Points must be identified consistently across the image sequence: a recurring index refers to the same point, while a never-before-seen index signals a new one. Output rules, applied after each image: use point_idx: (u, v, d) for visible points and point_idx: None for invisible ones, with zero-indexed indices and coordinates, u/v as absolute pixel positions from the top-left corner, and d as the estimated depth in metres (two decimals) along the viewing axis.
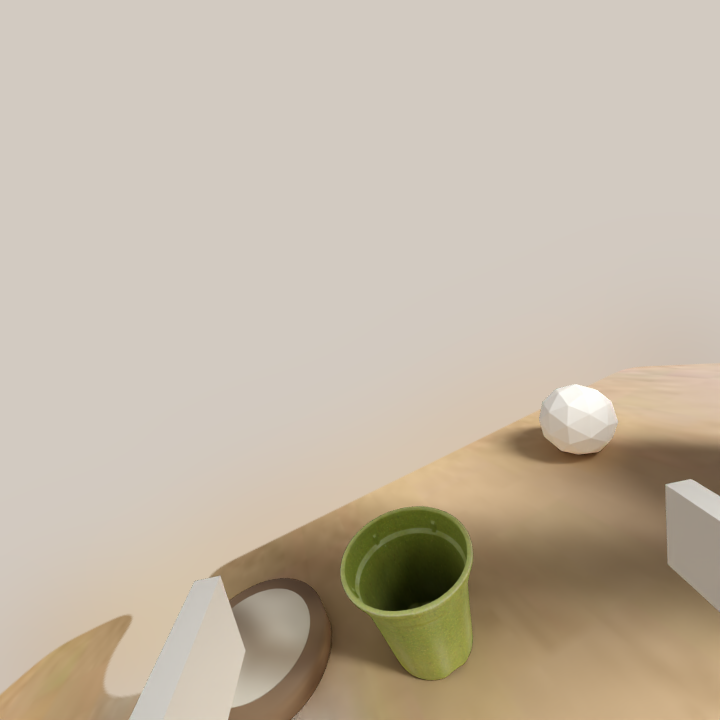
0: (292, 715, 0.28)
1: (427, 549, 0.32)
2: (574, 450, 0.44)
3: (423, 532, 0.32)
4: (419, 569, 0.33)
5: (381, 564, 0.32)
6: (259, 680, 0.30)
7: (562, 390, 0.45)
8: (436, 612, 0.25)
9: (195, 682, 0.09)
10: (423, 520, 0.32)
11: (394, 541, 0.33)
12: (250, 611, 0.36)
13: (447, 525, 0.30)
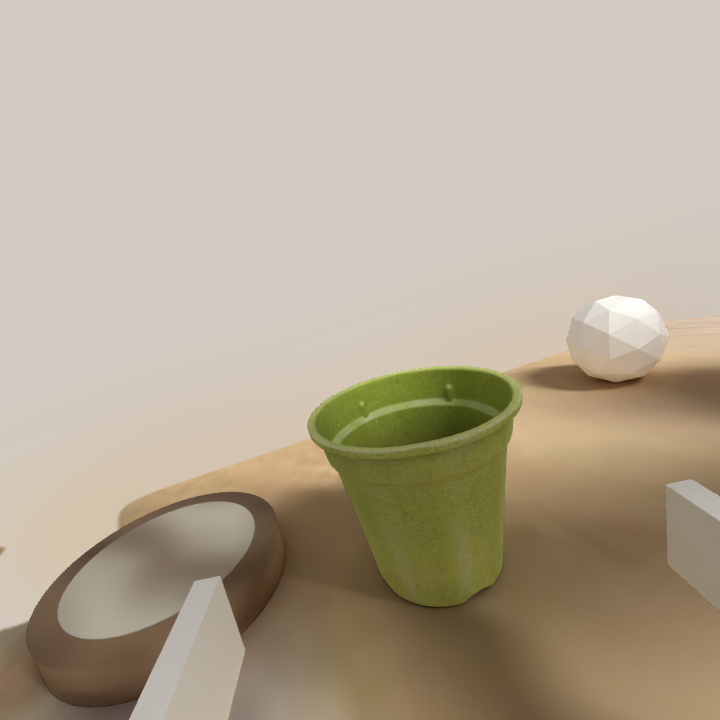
0: None
1: (437, 431, 0.22)
2: (614, 370, 0.35)
3: (432, 405, 0.22)
4: None
5: (369, 446, 0.22)
6: (161, 602, 0.18)
7: (599, 300, 0.36)
8: (466, 459, 0.15)
9: (195, 682, 0.09)
10: (433, 387, 0.22)
11: (389, 417, 0.22)
12: (168, 526, 0.24)
13: (472, 383, 0.21)
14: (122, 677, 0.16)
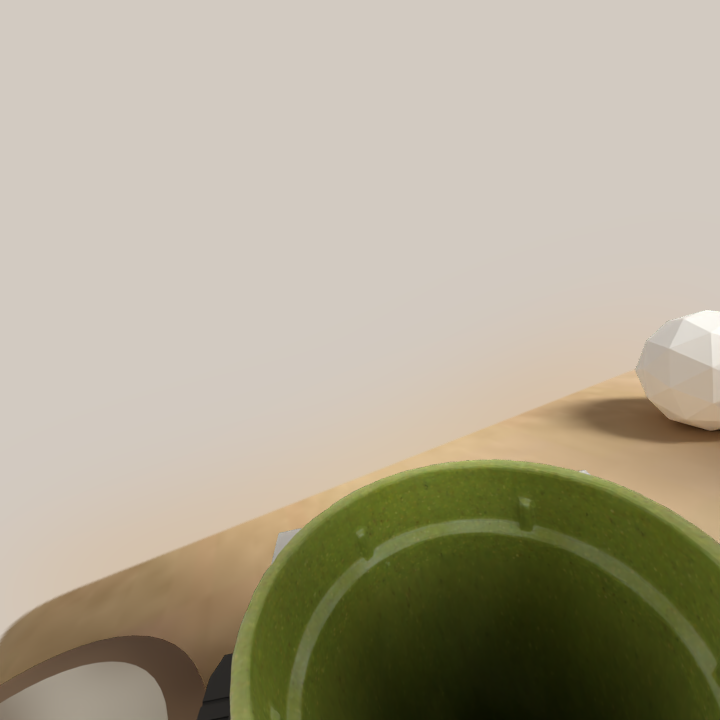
0: None
1: (501, 580, 0.12)
2: (716, 417, 0.24)
3: (492, 532, 0.12)
4: (470, 635, 0.13)
5: (374, 615, 0.11)
6: None
7: (688, 316, 0.26)
8: None
9: None
10: (495, 498, 0.12)
11: (412, 551, 0.12)
12: None
13: (579, 507, 0.10)
14: None
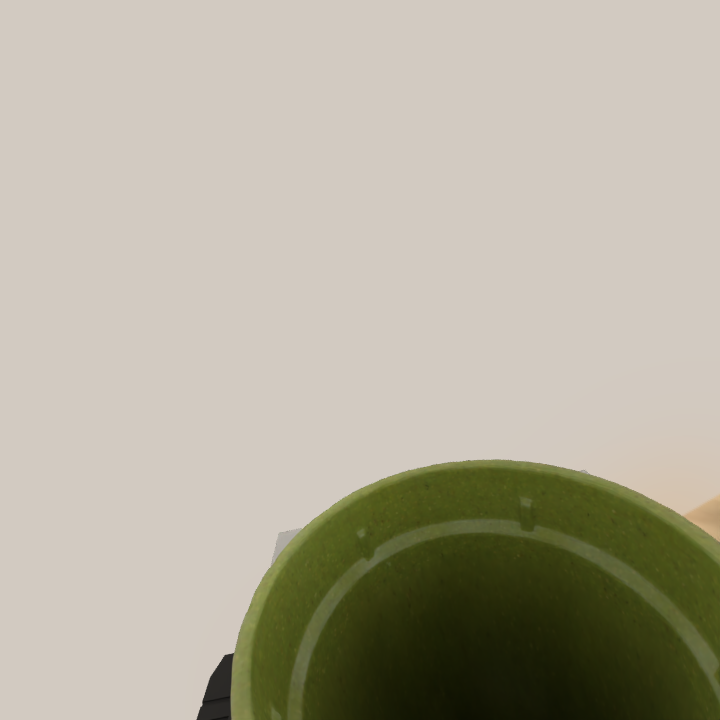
0: None
1: (502, 580, 0.12)
2: None
3: (493, 533, 0.12)
4: (471, 636, 0.12)
5: (375, 615, 0.11)
6: None
7: None
8: None
9: None
10: (496, 498, 0.12)
11: (413, 551, 0.12)
12: None
13: (581, 507, 0.10)
14: None
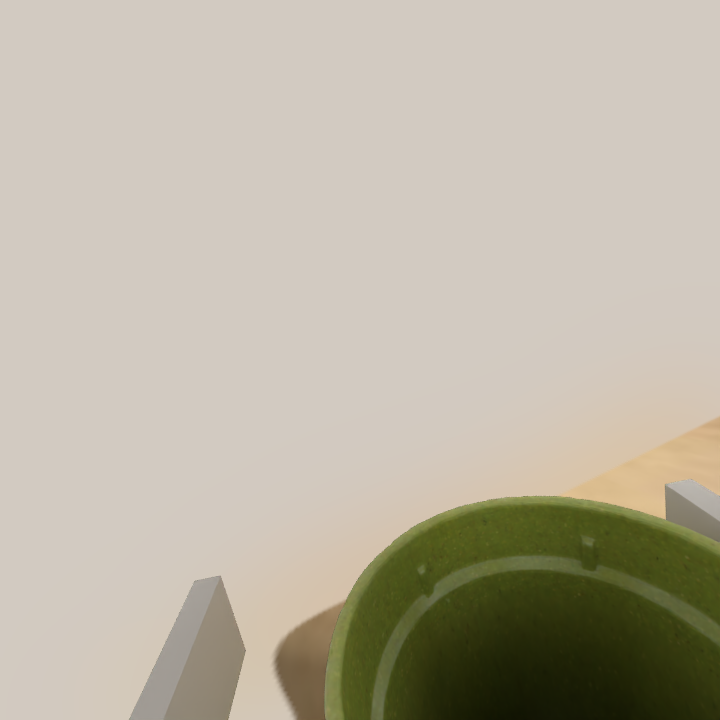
0: None
1: (561, 618, 0.12)
2: None
3: (552, 570, 0.12)
4: (526, 672, 0.12)
5: (435, 653, 0.11)
6: None
7: None
8: None
9: (195, 682, 0.09)
10: (555, 536, 0.12)
11: (470, 588, 0.12)
12: None
13: (649, 550, 0.10)
14: None
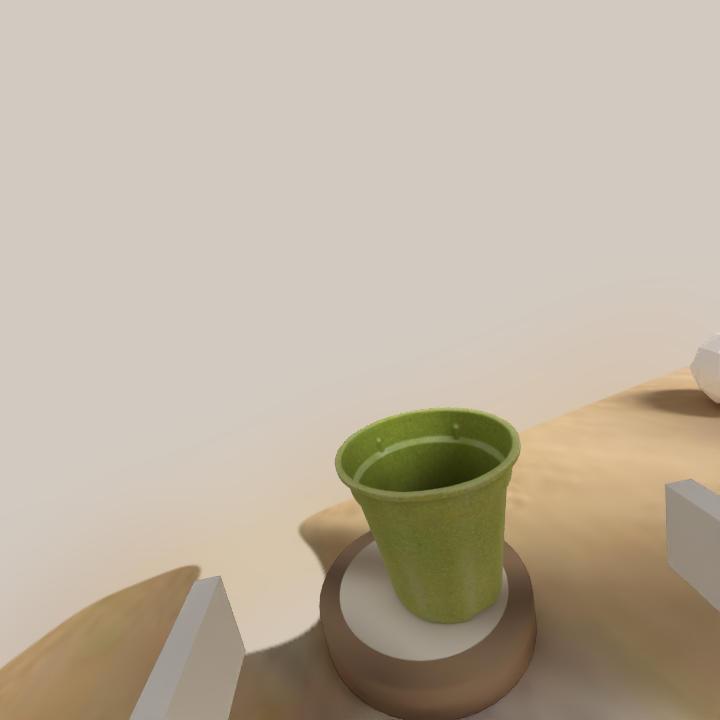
0: (518, 678, 0.19)
1: (445, 465, 0.25)
2: None
3: (441, 442, 0.25)
4: None
5: (384, 478, 0.24)
6: (458, 625, 0.20)
7: None
8: (472, 502, 0.17)
9: (195, 682, 0.09)
10: (442, 425, 0.25)
11: (403, 451, 0.25)
12: None
13: (477, 425, 0.23)
14: (464, 696, 0.18)
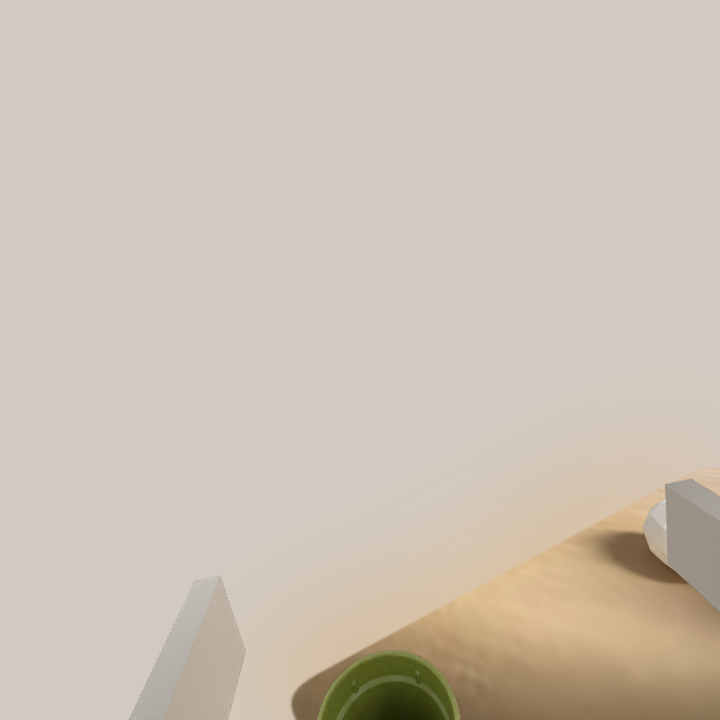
0: None
1: (410, 700, 0.30)
2: None
3: (406, 682, 0.30)
4: None
5: (358, 715, 0.29)
6: None
7: None
8: None
9: (195, 682, 0.09)
10: (407, 668, 0.30)
11: (374, 688, 0.30)
12: None
13: (433, 681, 0.28)
14: None
